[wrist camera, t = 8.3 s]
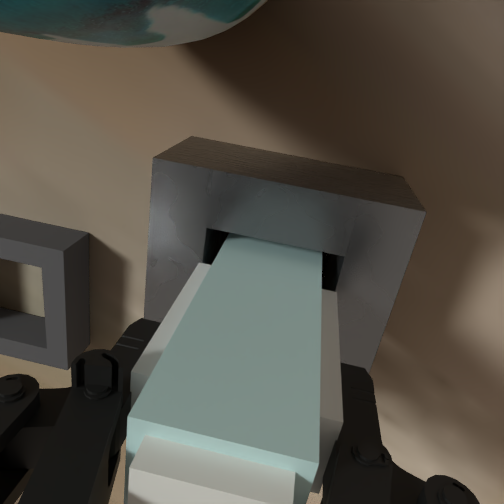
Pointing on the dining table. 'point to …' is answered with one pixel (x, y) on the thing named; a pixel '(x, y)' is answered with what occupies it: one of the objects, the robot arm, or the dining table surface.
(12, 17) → the vase
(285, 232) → the port panel
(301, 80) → the dining table surface
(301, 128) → the dining table surface
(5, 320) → the holster
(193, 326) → the plug
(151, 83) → the dining table surface
